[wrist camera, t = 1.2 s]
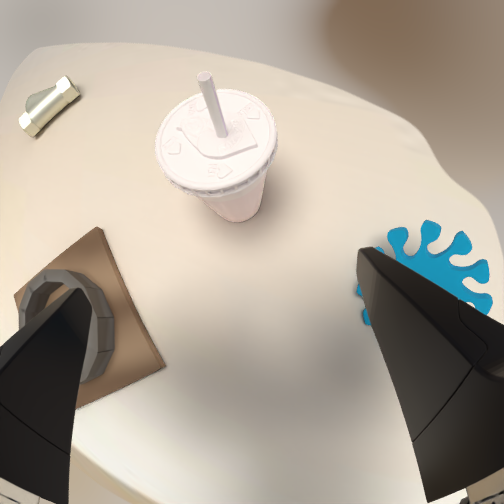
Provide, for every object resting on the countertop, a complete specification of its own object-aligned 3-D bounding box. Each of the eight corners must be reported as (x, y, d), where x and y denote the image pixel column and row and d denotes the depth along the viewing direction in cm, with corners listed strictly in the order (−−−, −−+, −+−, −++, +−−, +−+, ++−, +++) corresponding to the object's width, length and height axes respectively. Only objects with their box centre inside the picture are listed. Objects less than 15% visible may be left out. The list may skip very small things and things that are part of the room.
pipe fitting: (32, 117, 29) (36, 141, 27) (17, 102, 26) (18, 126, 24) (74, 80, 30) (83, 99, 28) (61, 63, 26) (67, 80, 24)
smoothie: (258, 252, 22) (229, 164, 9) (184, 221, 23) (88, 124, 10) (290, 179, 23) (299, 42, 10) (219, 154, 24) (169, 24, 10)
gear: (330, 261, 20) (459, 196, 13) (359, 240, 24) (459, 187, 17) (388, 386, 19) (509, 354, 12) (407, 346, 24) (504, 313, 17)
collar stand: (165, 366, 21) (147, 374, 18) (66, 413, 21) (44, 421, 17) (102, 229, 24) (80, 218, 20) (20, 295, 24) (-3, 292, 20)
